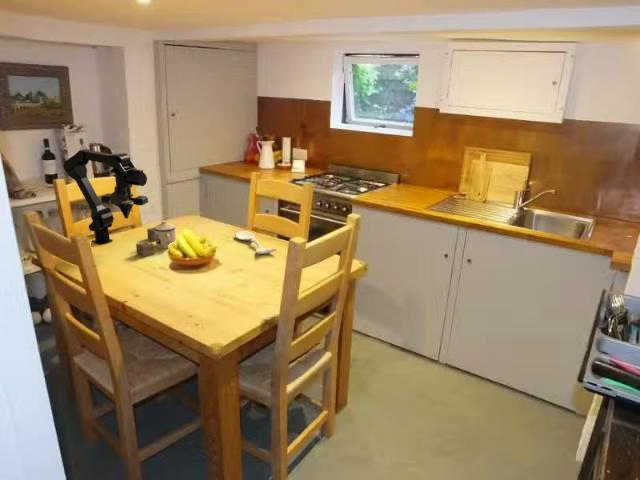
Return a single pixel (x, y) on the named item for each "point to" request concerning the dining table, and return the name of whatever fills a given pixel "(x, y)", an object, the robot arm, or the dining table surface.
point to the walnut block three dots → (151, 234)
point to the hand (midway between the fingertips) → (126, 218)
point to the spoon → (249, 236)
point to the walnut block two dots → (145, 249)
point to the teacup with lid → (164, 234)
